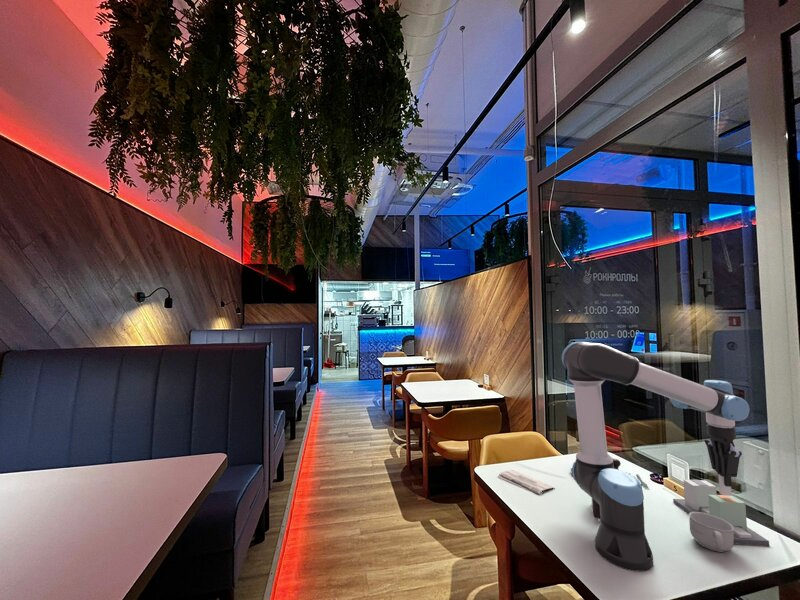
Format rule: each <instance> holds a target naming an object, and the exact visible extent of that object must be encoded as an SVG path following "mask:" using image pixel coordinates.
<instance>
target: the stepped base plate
mask: <svg viewBox="0 0 800 600" xmlns="http://www.w3.org/2000/svg"><path fill="white" fill-rule="evenodd" d="M683 494H684V495H683V496H684V499H683V498H673V501H672V503H673V504H675V505H676V506H677V507H679V508H680V509H681V510H683V511H684V512H685V513H686V514H687V515H689V513H691V512H702V513H707V514H709V500H708V495H718V494H717V486H716V485H714V484H712V483H711V482H709V481H707V480H705V479H704V480H702V479H701V480H700V479H683ZM733 527H734V541H733V545H745V546H746V545H748V546H749V545H750V546H765V547H769V546H770V540H768V539H767V538H765V537H763V536H762V535H761V534H759V533H758V532H756V531H754V530H753V529H751V528H749V527H748V526H747V531H744V530H743V529H741V528H740V527H738V526H733Z"/></svg>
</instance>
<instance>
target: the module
mask: <svg viewBox="0 0 800 600" xmlns="http://www.w3.org/2000/svg"><path fill="white" fill-rule="evenodd" d="M708 500H709V514H710V515H713V516H716V517H718V518H721V519H723V520H725V521H727V522H728V523H730V524H731V525H732V526H738V527H740V528H741V529H743V530H744V531H747V527H748V524H747V523H748V522H747V510H746V509H747V508H746V502H745V501H744V500H743V501H742V500H741V499H739V498H738V497H736V496H733V495H732V496H729V495H722V494H717V495H708Z"/></svg>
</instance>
